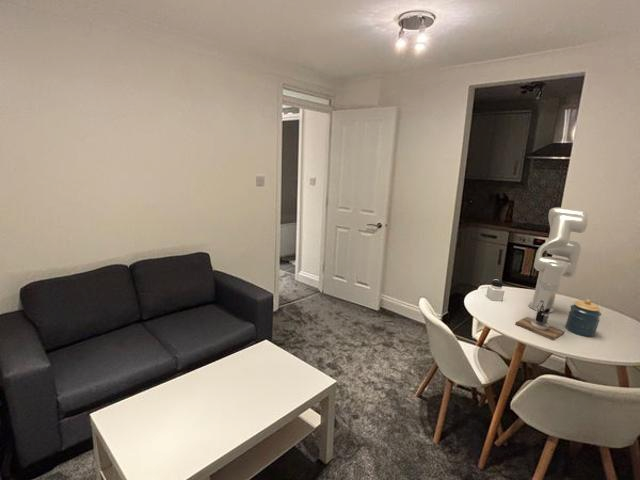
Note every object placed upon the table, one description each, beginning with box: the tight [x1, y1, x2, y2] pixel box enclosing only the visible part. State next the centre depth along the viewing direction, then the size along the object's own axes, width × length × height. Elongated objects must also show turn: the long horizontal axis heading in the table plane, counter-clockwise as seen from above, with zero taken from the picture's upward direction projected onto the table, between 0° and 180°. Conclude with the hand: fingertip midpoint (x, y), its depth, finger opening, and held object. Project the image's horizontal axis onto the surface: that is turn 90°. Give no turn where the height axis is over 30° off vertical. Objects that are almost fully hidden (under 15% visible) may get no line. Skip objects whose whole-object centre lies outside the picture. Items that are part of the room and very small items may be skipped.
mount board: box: [515, 316, 565, 341], centre depth 181 cm, size 13×18×3 cm
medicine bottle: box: [485, 279, 505, 302], centre depth 217 cm, size 7×7×12 cm
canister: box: [565, 298, 602, 338], centre depth 181 cm, size 13×13×18 cm
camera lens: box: [537, 311, 550, 324], centre depth 180 cm, size 5×5×5 cm
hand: (541, 319), depth 180 cm, fingers closed on camera lens, 5 cm apart
